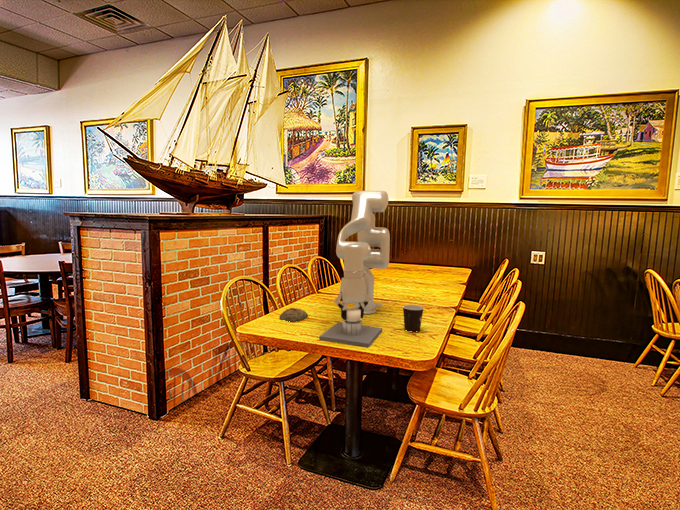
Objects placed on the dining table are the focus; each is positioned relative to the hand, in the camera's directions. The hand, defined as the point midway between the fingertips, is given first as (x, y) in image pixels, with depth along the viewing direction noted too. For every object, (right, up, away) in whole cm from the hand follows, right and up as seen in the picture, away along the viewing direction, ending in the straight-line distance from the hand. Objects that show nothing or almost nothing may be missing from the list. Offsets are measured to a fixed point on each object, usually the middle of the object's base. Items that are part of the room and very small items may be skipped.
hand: (352, 318), depth 149 cm
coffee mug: (+25, -7, +8) cm, 27 cm away
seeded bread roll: (-27, -4, +24) cm, 37 cm away
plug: (0, -5, +1) cm, 5 cm away
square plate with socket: (0, -7, +1) cm, 7 cm away
